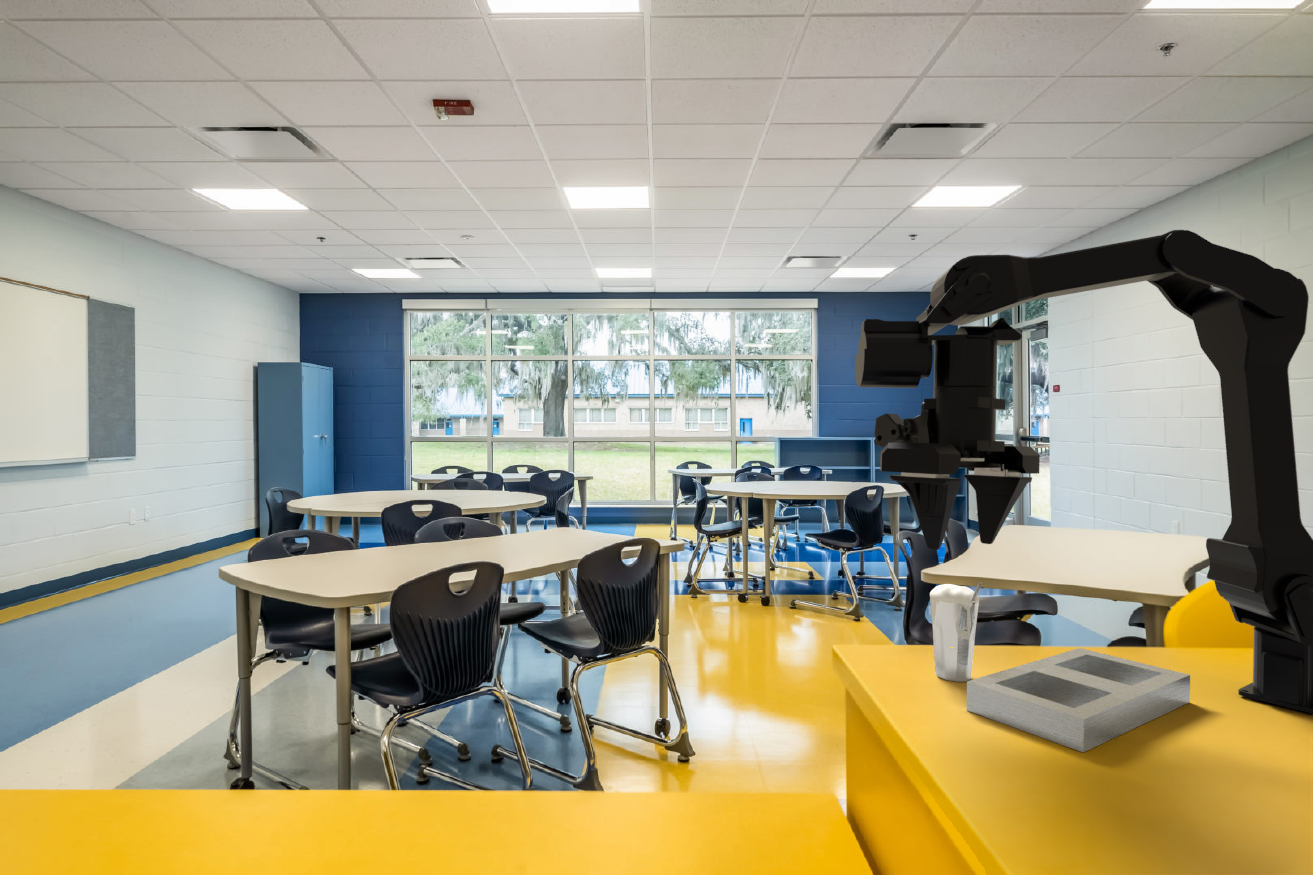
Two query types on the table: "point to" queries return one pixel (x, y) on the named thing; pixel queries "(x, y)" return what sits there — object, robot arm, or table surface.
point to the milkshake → (954, 630)
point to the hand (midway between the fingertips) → (960, 546)
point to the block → (1078, 696)
